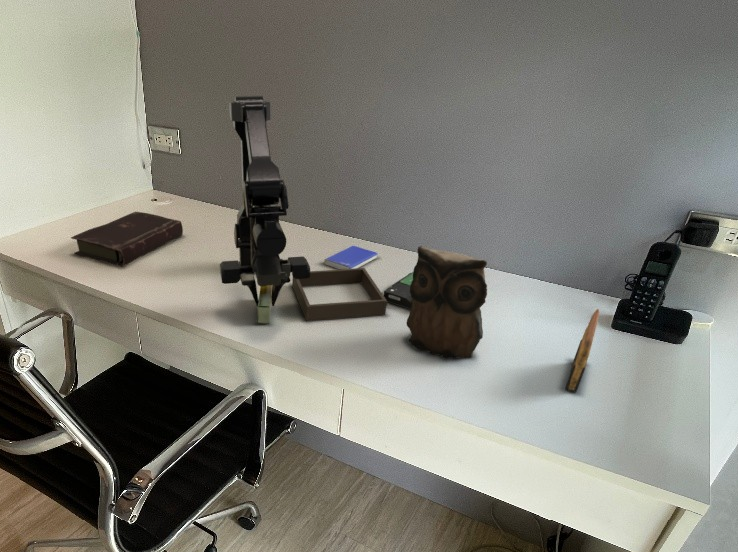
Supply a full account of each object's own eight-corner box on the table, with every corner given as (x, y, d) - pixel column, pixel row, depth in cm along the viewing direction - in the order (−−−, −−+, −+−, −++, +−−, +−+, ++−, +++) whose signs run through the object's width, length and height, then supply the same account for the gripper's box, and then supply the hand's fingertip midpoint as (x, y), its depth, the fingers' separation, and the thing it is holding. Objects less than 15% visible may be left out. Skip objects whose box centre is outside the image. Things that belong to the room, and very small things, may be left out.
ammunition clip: (573, 361, 109) (593, 305, 102) (583, 364, 108) (604, 308, 101) (564, 389, 101) (585, 331, 95) (576, 392, 101) (598, 334, 94)
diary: (184, 237, 163) (182, 220, 160) (125, 268, 145) (122, 249, 142) (134, 226, 170) (132, 209, 168) (72, 254, 153) (68, 236, 150)
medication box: (270, 324, 121) (269, 307, 119) (257, 323, 121) (256, 307, 119) (272, 297, 131) (272, 281, 128) (260, 297, 131) (260, 281, 128)
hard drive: (350, 267, 142) (377, 252, 149) (324, 258, 146) (352, 244, 154) (350, 272, 143) (377, 258, 150) (324, 264, 147) (351, 250, 155)
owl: (479, 360, 109) (503, 263, 98) (415, 364, 108) (431, 266, 97) (456, 328, 120) (475, 236, 108) (397, 331, 119) (410, 239, 107)
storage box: (306, 321, 122) (307, 306, 120) (292, 285, 137) (292, 272, 135) (385, 315, 124) (387, 300, 122) (363, 281, 139) (364, 267, 137)
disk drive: (423, 315, 125) (452, 290, 134) (425, 303, 123) (454, 280, 132) (381, 301, 130) (412, 279, 139) (383, 290, 128) (413, 268, 138)
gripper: (221, 255, 109) (225, 326, 118) (317, 250, 111) (314, 320, 120) (217, 234, 118) (221, 302, 127) (306, 229, 120) (303, 296, 129)
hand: (265, 305), depth 125 cm, fingers closed on medication box, 3 cm apart
